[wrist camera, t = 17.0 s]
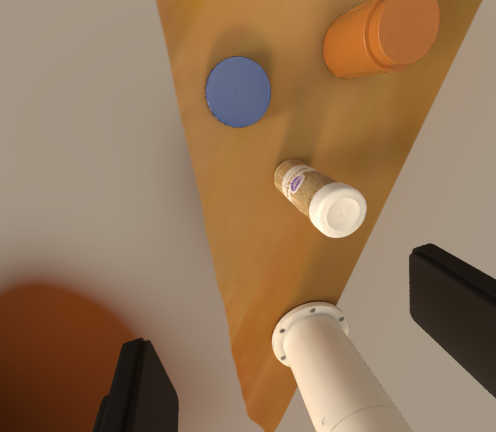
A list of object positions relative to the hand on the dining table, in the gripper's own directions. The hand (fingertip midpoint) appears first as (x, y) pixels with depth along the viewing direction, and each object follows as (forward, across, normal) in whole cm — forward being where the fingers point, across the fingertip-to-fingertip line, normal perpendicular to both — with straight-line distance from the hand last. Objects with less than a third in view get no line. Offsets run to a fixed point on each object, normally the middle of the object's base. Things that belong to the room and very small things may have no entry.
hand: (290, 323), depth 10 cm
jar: (+26, -18, -9) cm, 33 cm away
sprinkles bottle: (+26, -8, +4) cm, 28 cm away
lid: (+25, -4, -7) cm, 26 cm away
